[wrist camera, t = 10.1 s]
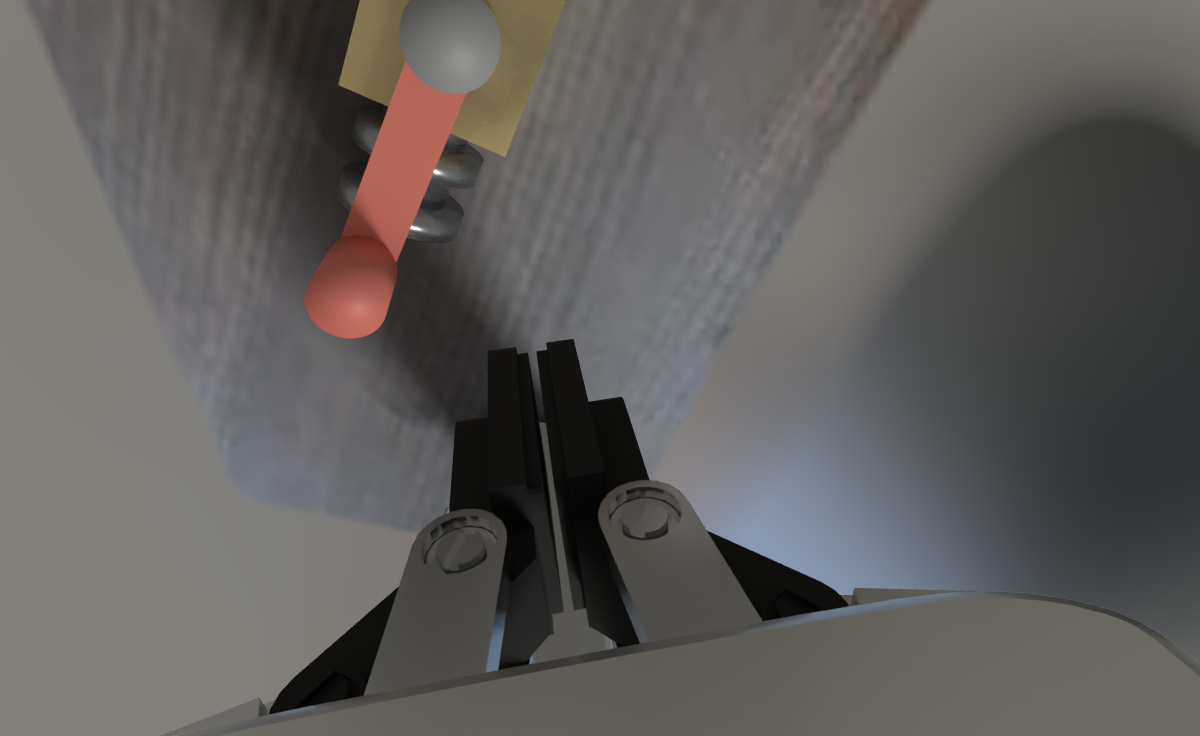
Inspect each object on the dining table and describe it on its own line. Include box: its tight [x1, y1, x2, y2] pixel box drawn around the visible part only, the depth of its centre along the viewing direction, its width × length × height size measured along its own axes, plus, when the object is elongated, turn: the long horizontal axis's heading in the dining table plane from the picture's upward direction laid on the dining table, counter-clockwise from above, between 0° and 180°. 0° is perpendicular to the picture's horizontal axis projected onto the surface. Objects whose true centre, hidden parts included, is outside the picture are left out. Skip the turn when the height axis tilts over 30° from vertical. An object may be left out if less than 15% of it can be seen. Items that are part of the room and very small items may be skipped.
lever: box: [304, 0, 501, 339], centre depth 24 cm, size 13×4×5 cm, turn 151°
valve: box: [336, 0, 566, 243], centre depth 28 cm, size 18×7×7 cm, turn 155°
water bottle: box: [443, 422, 612, 663], centre depth 34 cm, size 9×8×25 cm
